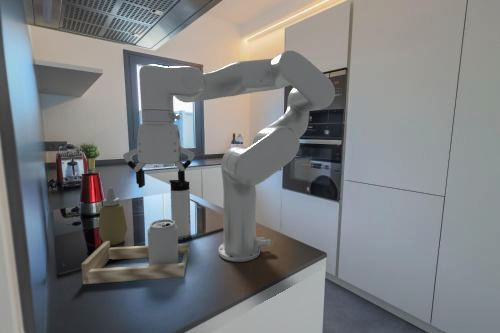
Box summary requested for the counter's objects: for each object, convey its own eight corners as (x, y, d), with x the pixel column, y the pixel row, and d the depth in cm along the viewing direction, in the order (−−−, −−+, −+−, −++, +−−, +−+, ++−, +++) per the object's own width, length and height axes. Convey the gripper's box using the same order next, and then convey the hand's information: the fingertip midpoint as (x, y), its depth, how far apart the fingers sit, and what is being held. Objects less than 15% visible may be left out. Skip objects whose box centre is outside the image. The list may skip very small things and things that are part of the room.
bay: (189, 252, 72) (188, 236, 72) (183, 276, 60) (183, 257, 60) (106, 257, 69) (105, 241, 68) (83, 284, 57) (81, 264, 56)
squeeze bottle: (107, 236, 83) (104, 185, 81) (132, 236, 84) (129, 185, 81) (94, 247, 75) (89, 191, 73) (121, 247, 76) (117, 190, 73)
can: (169, 274, 61) (168, 229, 60) (143, 271, 63) (140, 226, 61) (183, 259, 68) (182, 218, 67) (159, 257, 70) (157, 216, 68)
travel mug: (168, 235, 84) (166, 179, 82) (185, 230, 89) (184, 177, 86) (176, 241, 80) (174, 182, 77) (194, 236, 84) (192, 179, 82)
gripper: (194, 120, 65) (196, 182, 68) (126, 119, 63) (131, 184, 65) (192, 118, 58) (194, 188, 60) (115, 117, 56) (120, 190, 58)
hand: (161, 186), depth 63 cm, fingers open, 9 cm apart
